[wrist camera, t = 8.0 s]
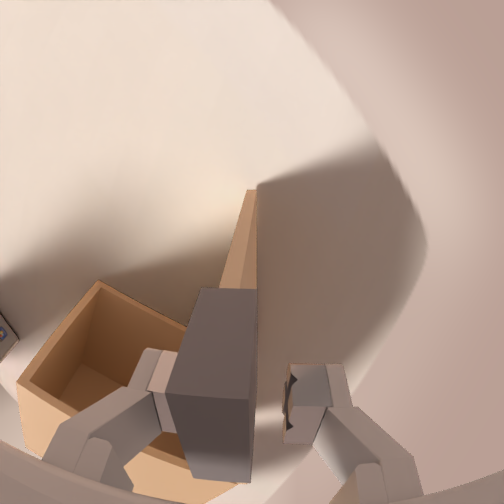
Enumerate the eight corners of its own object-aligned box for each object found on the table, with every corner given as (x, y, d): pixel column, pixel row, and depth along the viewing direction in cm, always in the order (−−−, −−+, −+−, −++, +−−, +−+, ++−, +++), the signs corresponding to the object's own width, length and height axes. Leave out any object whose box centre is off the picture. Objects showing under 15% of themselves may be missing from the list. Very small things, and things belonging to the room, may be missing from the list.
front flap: (264, 190, 20) (248, 399, 5) (262, 353, 25) (252, 544, 11) (238, 189, 20) (164, 392, 6) (243, 352, 25) (220, 542, 11)
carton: (98, 279, 24) (16, 381, 13) (249, 356, 26) (237, 484, 15) (77, 359, 28) (25, 447, 17) (198, 418, 30) (177, 517, 20)
